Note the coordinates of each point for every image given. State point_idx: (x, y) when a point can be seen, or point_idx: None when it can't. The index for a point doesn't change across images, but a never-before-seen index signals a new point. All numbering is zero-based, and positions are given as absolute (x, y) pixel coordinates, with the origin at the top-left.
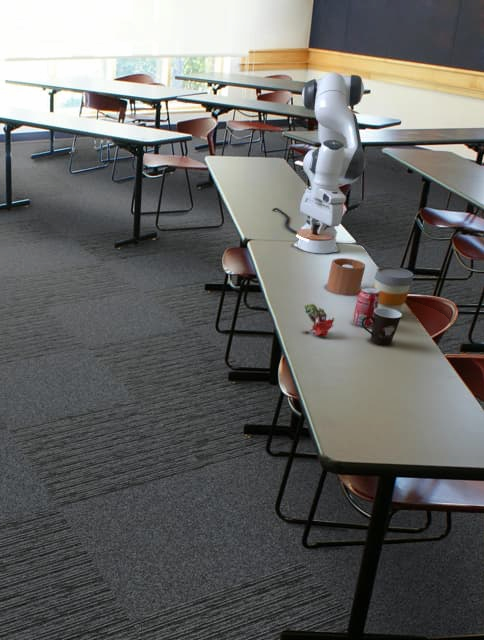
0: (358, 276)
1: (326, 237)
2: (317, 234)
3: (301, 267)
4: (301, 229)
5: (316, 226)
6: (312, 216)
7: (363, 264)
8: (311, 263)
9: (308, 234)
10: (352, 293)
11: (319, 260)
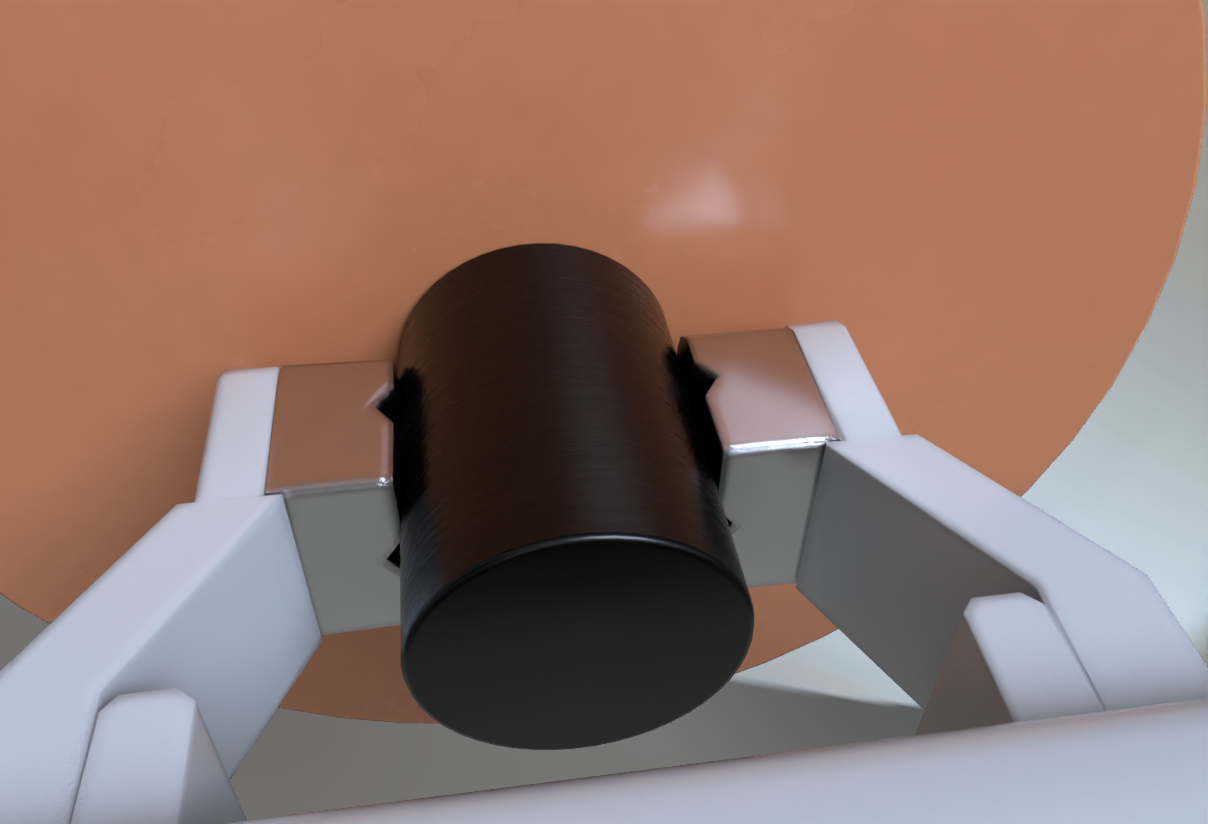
0: None
1: (62, 491)
2: (401, 361)
3: (1188, 264)
4: (1186, 120)
5: (447, 516)
6: (954, 804)
7: None
8: (1199, 397)
9: (512, 39)
10: None
11: (1204, 484)
